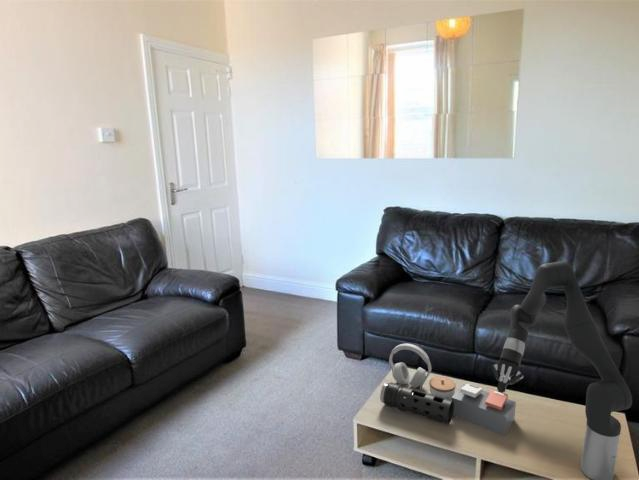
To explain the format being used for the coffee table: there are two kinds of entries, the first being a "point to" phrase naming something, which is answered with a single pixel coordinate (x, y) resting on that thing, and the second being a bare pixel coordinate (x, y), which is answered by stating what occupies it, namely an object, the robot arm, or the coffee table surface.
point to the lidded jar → (442, 387)
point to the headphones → (401, 369)
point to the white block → (471, 390)
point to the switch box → (483, 412)
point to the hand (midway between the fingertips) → (500, 392)
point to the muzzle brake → (417, 402)
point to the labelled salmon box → (496, 399)
